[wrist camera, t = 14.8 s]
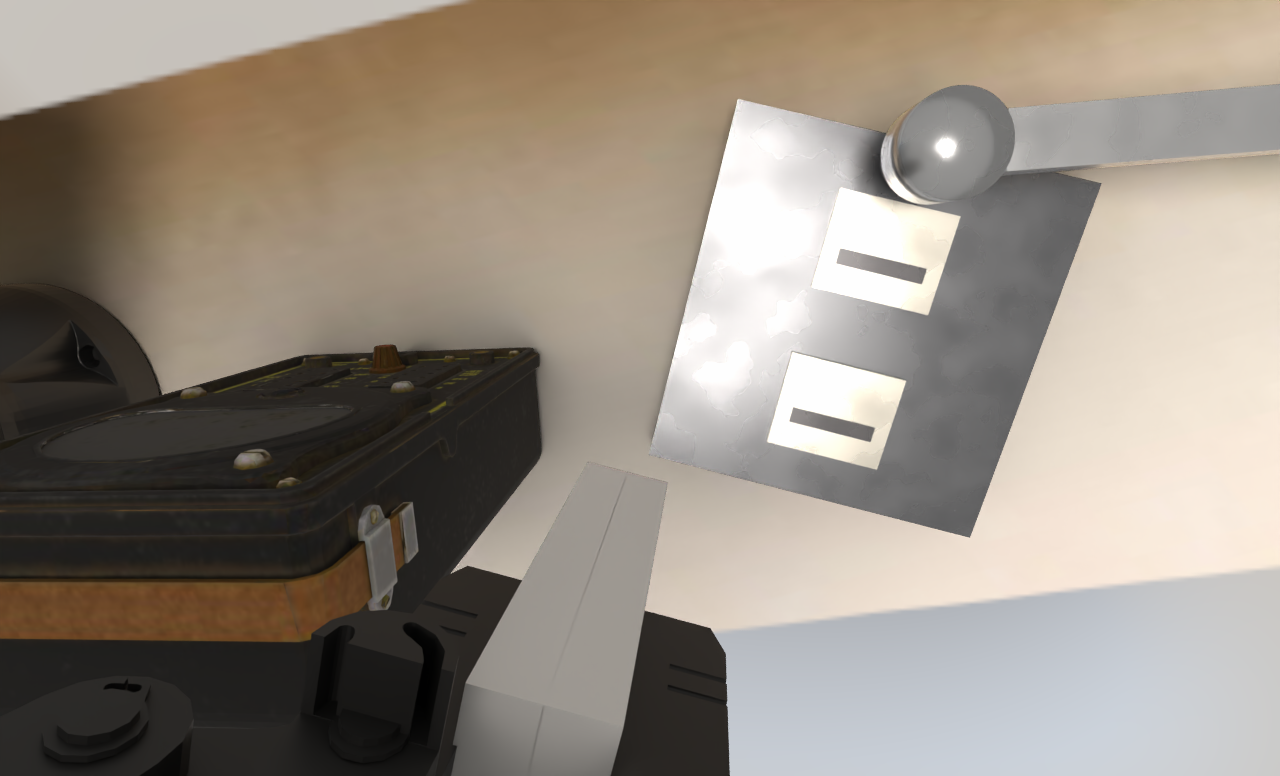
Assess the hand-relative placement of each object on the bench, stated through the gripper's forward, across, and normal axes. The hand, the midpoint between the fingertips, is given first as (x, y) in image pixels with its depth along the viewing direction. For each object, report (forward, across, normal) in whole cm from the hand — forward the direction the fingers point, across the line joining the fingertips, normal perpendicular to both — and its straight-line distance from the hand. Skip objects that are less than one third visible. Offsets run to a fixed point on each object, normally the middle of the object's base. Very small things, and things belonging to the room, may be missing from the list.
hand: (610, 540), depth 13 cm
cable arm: (+22, +17, +14) cm, 31 cm away
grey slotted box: (+28, +9, +3) cm, 30 cm away
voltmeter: (+29, -14, -8) cm, 33 cm away
